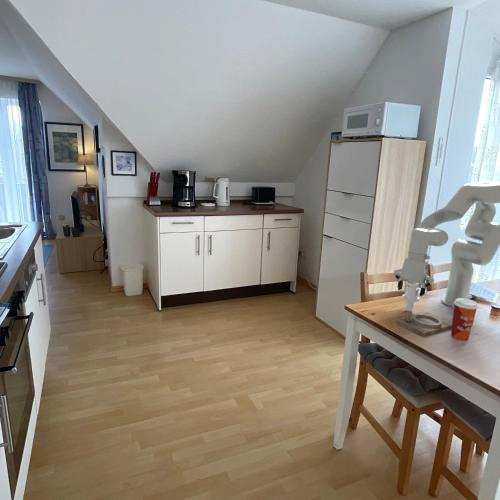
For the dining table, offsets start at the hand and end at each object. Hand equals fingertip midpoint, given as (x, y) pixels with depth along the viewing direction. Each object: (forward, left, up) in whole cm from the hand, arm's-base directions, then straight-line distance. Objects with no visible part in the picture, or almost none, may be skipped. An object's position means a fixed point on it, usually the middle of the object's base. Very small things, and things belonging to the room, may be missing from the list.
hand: (410, 292), depth 165 cm
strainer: (-1, 0, -9) cm, 9 cm away
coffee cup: (+3, +27, -9) cm, 28 cm away
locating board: (+6, +14, -9) cm, 18 cm away
